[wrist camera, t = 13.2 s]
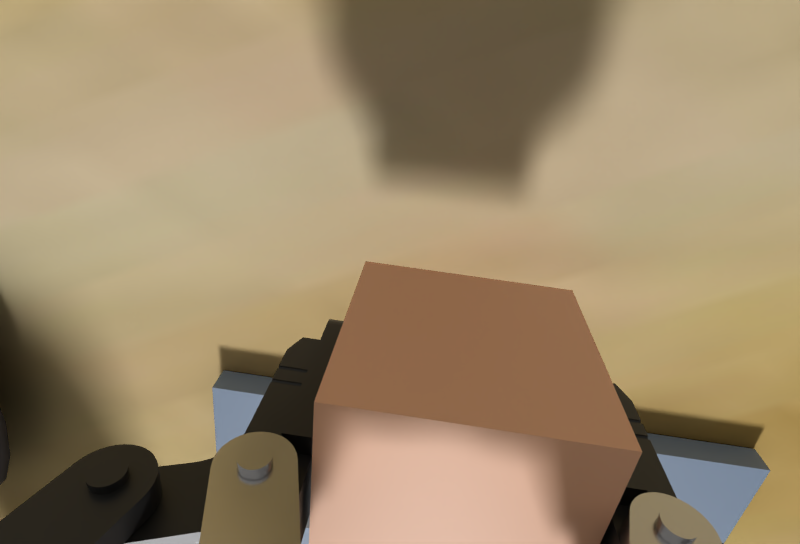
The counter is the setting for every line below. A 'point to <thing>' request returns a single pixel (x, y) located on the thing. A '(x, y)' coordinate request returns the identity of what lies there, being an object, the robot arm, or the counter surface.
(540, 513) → the terracotta cube
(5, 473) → the casserole
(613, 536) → the robot arm
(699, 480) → the blue board
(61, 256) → the counter surface
